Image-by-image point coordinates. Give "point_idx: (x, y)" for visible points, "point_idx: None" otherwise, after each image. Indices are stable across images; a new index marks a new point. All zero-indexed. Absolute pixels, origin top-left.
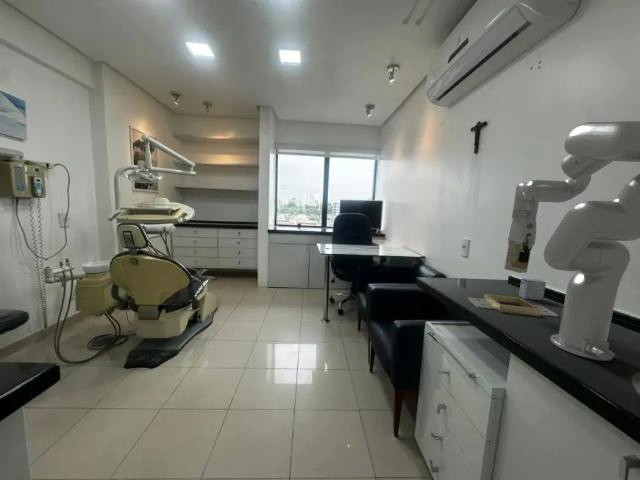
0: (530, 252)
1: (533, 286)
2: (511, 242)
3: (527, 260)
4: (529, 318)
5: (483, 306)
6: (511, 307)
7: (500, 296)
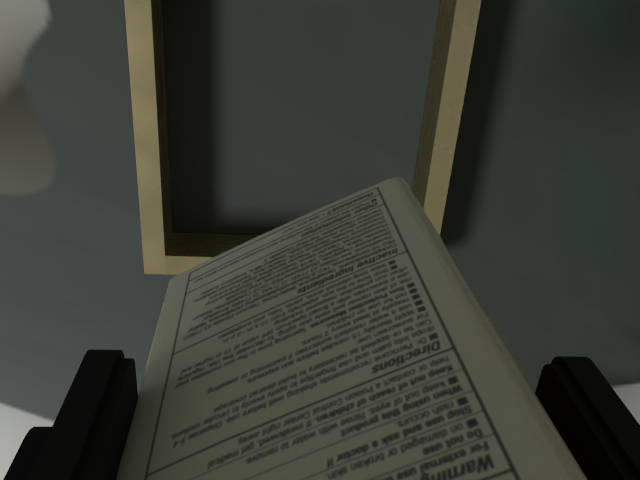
0: (562, 439)
1: None
2: None
3: (599, 394)
4: (523, 102)
5: None
6: (442, 202)
7: (159, 156)
